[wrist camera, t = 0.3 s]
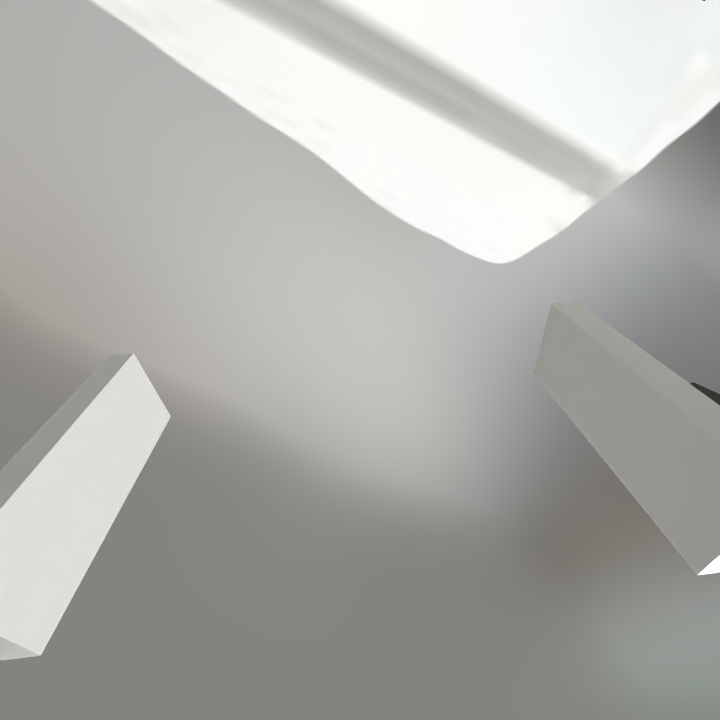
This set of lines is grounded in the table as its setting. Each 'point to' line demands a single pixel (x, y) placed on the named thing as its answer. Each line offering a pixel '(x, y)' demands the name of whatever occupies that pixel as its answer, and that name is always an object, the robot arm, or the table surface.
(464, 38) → the table surface
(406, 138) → the table surface
